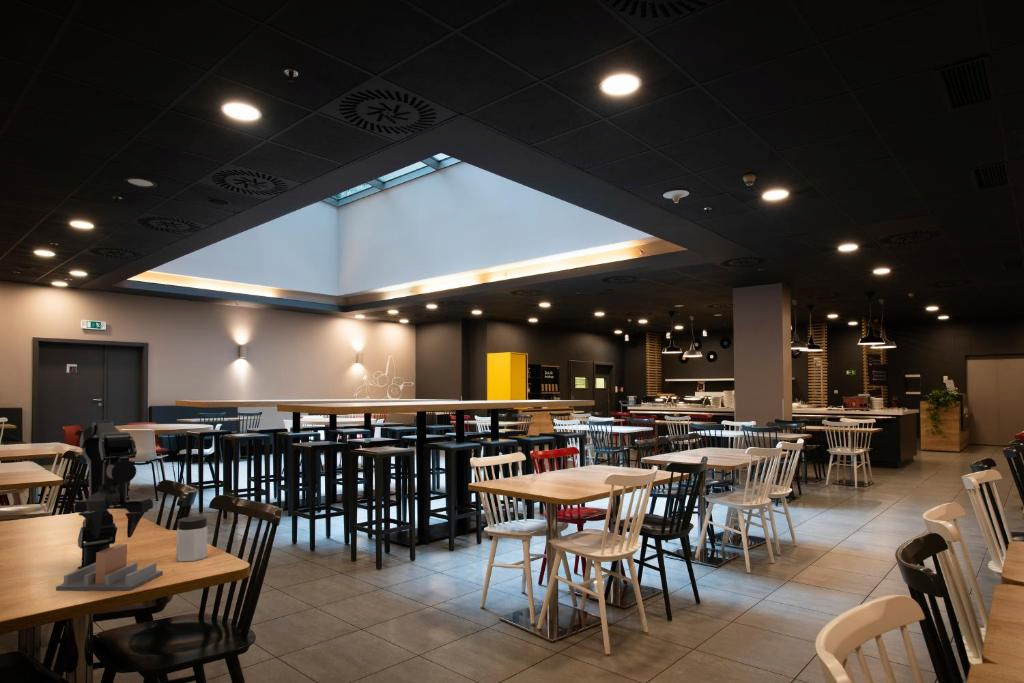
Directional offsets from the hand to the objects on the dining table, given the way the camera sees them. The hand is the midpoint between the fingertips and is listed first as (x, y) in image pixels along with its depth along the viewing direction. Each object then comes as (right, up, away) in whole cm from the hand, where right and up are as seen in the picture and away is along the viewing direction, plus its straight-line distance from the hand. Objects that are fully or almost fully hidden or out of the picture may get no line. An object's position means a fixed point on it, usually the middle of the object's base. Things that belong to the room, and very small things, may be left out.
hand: (112, 537), depth 172 cm
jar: (+10, -14, +23) cm, 28 cm away
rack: (0, -12, -1) cm, 12 cm away
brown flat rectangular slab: (0, -11, -1) cm, 11 cm away
